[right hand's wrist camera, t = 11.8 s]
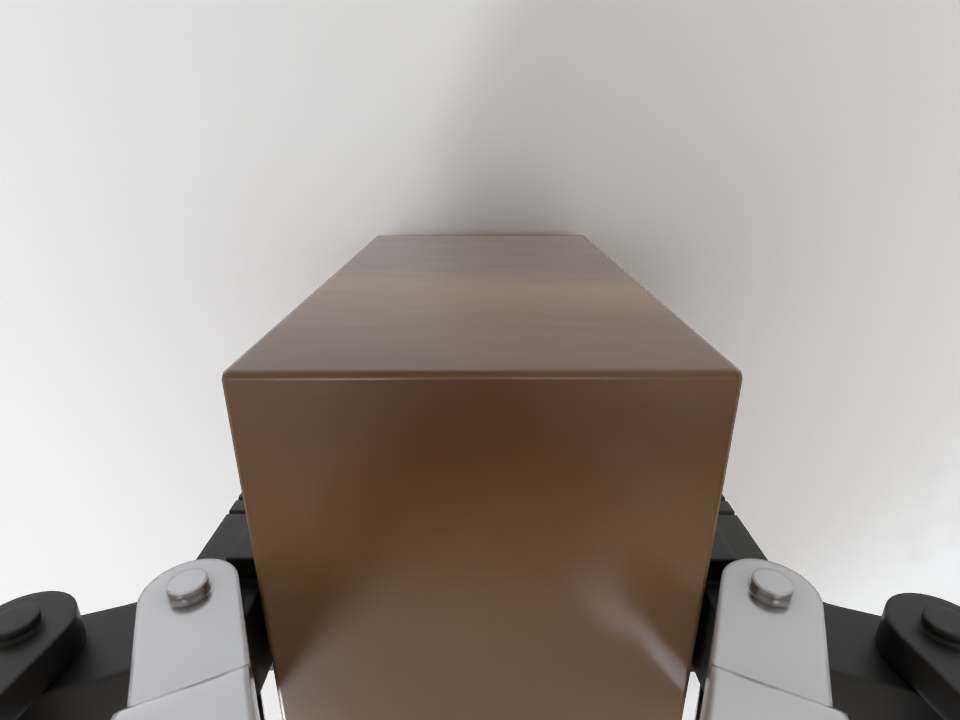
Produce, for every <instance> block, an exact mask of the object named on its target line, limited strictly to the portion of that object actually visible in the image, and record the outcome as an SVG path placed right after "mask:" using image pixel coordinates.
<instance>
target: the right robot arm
mask: <svg viewBox="0 0 960 720" xmlns="http://www.w3.org/2000/svg"><path fill="white" fill-rule="evenodd" d="M269 670H274V668H273V663H272V657H271V652H270V646H269V640H268V635H267V629H266V624H265V618H264V613H263V607H262V601H261V596H260V590H259V585H258V579H257V573H256V568H255V562H254V557H253V551H252V545H251V540H250V534H249V529H248V523H247V517H246V512H245V506H244V501H243V495H242V493H241V494H240V496H239V500H236V502H235V503H234V505H233V506H232V508H231V509H230V511H229V514H227V515H226V517H225V518H224V519H223V521H222V522H221V524H220V525H219V527H218V528H217V530H216V531H215V533H214V534H213V536H212V537H211V539H210V540H209V541H208V543H207V544H206V546H205V547H204V549H203V550H202V552H201V553H200V555H199V556H198V558H197V559H196V560H194V561H189V562H186V563H183V564H180V565H178V566H175V567H173V568H171V569H169V570H167V571H166V572H164V573H162V574H161V575H159V576H158V577H156V578H155V579H154V580H153V581H152V582H150V584H149V585H148V586H147V587H146V588H145V589H144V590H143V592H142V593H141V595H140V597H139V599H138V602H136V603H132V604H129V605H125V606H120V607H116V608H112V609H107V610H103V611H99V612H94V613H90V614H86V615H81V614H80V611H79V608H78V605H77V602H76V601H75V599H74V598H73V597H72V596H71V595H69V594H67V593H65V592H59V591H46V592H38V593H33V594H29V595H26V596H22V597H20V598H17V599H14V600H12V601H9V602H7V603H5V604H3V605H1V606H0V720H266V719H265V712H264V705H263V699H262V694H261V689H262V687H263V684H264V682H265V679H266V677H267V674H268V672H269ZM690 672H695V673H696V675H697V678H698V680H699V683H700V689H699V694H698V699H697V705H696V712H695V719H694V720H960V606H958V605H955V604H953V603H951V602H948V601H946V600H943V599H940V598H937V597H933V596H929V595H924V594H918V593H902V594H897V595H895V596H893V597H891V598H890V599H889V600H888V601H887V603H886V605H885V608H884V611H883V614H882V616H878V615H873V614H869V613H865V612H860V611H856V610H852V609H847V608H843V607H839V606H835V605H831V604H827V603H825V602H822V599H821V597H820V595H819V593H818V592H817V590H816V589H815V588H814V587H813V586H812V585H811V584H810V582H808V581H807V580H806V579H805V578H804V577H802V576H801V575H799V574H798V573H796V572H794V571H793V570H791V569H789V568H787V567H785V566H782V565H780V564H777V563H774V562H771V561H768V560H767V558H766V557H765V556H764V554H763V553H762V551H761V550H760V548H759V547H758V545H757V544H756V543H755V541H754V540H753V538H752V537H751V535H750V534H749V532H748V531H747V529H746V528H745V527H744V525H743V524H742V522H741V521H740V519H739V518H738V516H737V515H734V511H733V509H732V508H731V506H730V505H729V503H728V502H727V501H725V498H724V496H723V495H722V496H721V501H720V507H719V512H718V518H717V524H716V529H715V535H714V540H713V546H712V552H711V557H710V563H709V569H708V574H707V580H706V585H705V591H704V597H703V602H702V608H701V613H700V619H699V625H698V630H697V636H696V641H695V647H694V653H693V658H692V664H691V670H690Z"/></svg>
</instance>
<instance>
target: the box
mask: <svg viewBox="0 0 960 720" xmlns="http://www.w3.org/2000/svg"><path fill="white" fill-rule="evenodd" d="M222 383H223V389H224V394H225V400H226V406H227V411H228V417H229V422H230V428H231V434H232V439H233V445H234V450H235V456H236V461H237V467H238V473H239V478H240V484H241V489H242V495H243V501H244V506H245V512H246V517H247V523H248V529H249V534H250V540H251V545H252V551H253V557H254V562H255V568H256V573H257V579H258V585H259V590H260V596H261V601H262V607H263V613H264V618H265V624H266V629H267V635H268V640H269V646H270V652H271V657H272V663H273V668H274V674H275V680H276V685H277V691H278V696H279V702H280V708H281V713H282V719H283V720H682V714H683V709H684V703H685V698H686V692H687V686H688V681H689V675H690V670H691V664H692V658H693V653H694V647H695V641H696V636H697V630H698V625H699V619H700V613H701V608H702V602H703V597H704V591H705V585H706V580H707V574H708V569H709V563H710V557H711V552H712V546H713V540H714V535H715V529H716V524H717V518H718V512H719V507H720V501H721V496H722V490H723V484H724V479H725V473H726V467H727V462H728V456H729V451H730V445H731V439H732V434H733V428H734V423H735V417H736V411H737V406H738V400H739V395H740V389H741V383H742V374H741V371H740V370H739V369H738V368H736V367H735V366H734V365H733V364H732V363H731V362H729V361H728V360H727V359H726V358H725V357H724V356H722V355H721V354H720V353H719V352H718V351H717V350H715V349H714V348H713V347H712V346H711V345H710V344H708V343H707V342H706V341H705V340H704V339H703V338H701V337H700V336H699V335H698V334H697V333H696V332H694V331H693V330H692V329H691V328H690V327H689V326H687V325H686V324H685V323H684V322H683V321H682V320H680V319H679V318H678V317H677V316H676V315H675V314H673V313H672V312H671V311H670V310H669V309H668V308H666V307H665V306H664V305H663V304H662V303H661V302H659V301H658V300H657V299H656V298H655V297H654V296H653V295H651V294H650V293H649V292H648V291H647V290H646V289H644V288H643V287H642V286H641V285H640V284H639V283H637V282H636V281H635V280H634V279H633V278H632V277H630V276H629V275H628V274H627V273H626V272H625V271H623V270H622V269H621V268H620V267H619V266H618V265H616V264H615V263H614V262H613V261H612V260H611V259H609V258H608V257H607V256H606V255H605V254H604V253H602V252H601V251H600V250H599V249H598V248H597V247H595V246H594V245H593V244H592V243H591V242H590V241H588V240H587V239H586V238H585V237H584V236H581V235H530V236H378V237H376V238H375V239H374V240H373V241H372V242H371V243H369V244H368V245H367V246H366V247H365V248H364V249H363V250H362V251H360V252H359V253H358V254H357V255H356V256H355V257H354V258H352V259H351V260H350V261H349V262H348V263H347V264H346V265H344V266H343V267H342V268H341V269H340V270H339V271H338V272H337V273H335V274H334V275H333V276H332V277H331V278H330V279H329V280H327V281H326V282H325V283H324V284H323V285H322V286H321V287H320V288H318V289H317V290H316V291H315V292H314V293H313V294H312V295H310V296H309V297H308V298H307V299H306V300H305V301H304V302H303V303H301V304H300V305H299V306H298V307H297V308H296V309H295V310H293V311H292V312H291V313H290V314H289V315H288V316H287V317H285V318H284V319H283V320H282V321H281V322H280V323H279V324H278V325H276V326H275V327H274V328H273V329H272V330H271V331H270V332H268V333H267V334H266V335H265V336H264V337H263V338H262V339H261V340H259V341H258V342H257V343H256V344H255V345H254V346H253V347H251V348H250V349H249V350H248V351H247V352H246V353H245V354H243V355H242V356H241V357H240V358H239V359H238V360H237V361H236V362H234V363H233V364H232V365H231V366H230V367H229V368H228V369H226V370H225V371H224V372H223V376H222Z"/></svg>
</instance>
